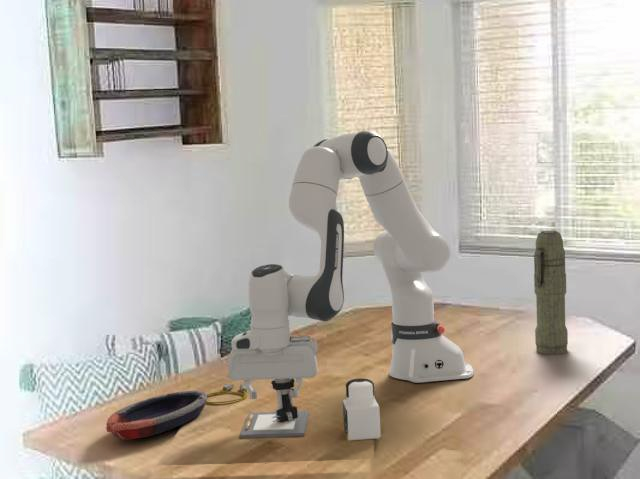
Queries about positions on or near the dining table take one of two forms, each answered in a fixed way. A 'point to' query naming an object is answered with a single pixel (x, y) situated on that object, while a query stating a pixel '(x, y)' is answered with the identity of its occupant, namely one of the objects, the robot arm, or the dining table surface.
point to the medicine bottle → (361, 411)
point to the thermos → (550, 293)
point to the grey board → (273, 425)
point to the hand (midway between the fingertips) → (274, 397)
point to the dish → (156, 414)
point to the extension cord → (228, 387)
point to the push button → (284, 400)
